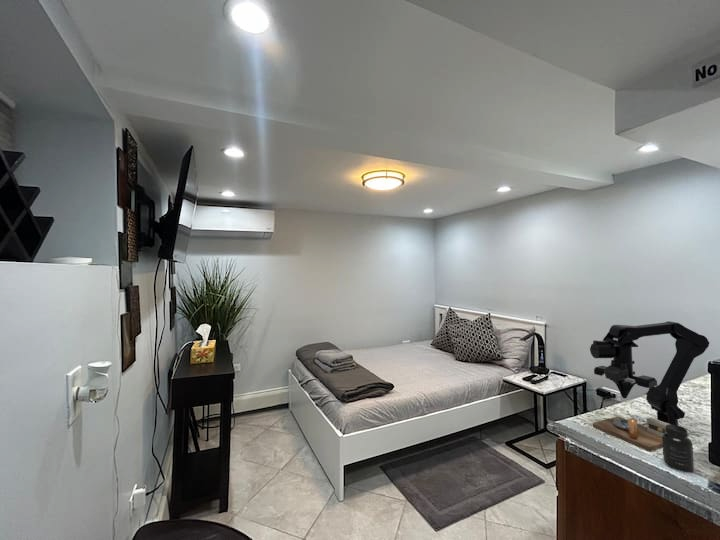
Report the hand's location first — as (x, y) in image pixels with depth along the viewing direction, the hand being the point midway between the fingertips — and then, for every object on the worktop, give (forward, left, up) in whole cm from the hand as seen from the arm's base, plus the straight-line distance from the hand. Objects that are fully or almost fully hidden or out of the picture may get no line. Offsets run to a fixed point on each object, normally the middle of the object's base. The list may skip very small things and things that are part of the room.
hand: (624, 398), depth 123 cm
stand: (+2, +3, -12) cm, 13 cm away
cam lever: (+4, +3, -10) cm, 11 cm away
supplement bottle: (+11, +21, -12) cm, 26 cm away
